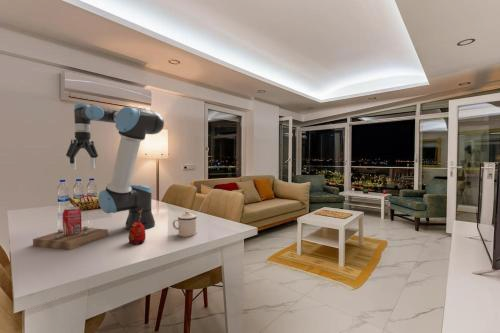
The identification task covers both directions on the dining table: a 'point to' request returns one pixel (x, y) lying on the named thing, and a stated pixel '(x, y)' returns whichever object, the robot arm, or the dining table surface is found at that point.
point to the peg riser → (70, 238)
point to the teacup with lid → (186, 224)
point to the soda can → (71, 221)
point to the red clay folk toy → (137, 232)
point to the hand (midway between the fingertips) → (83, 169)
